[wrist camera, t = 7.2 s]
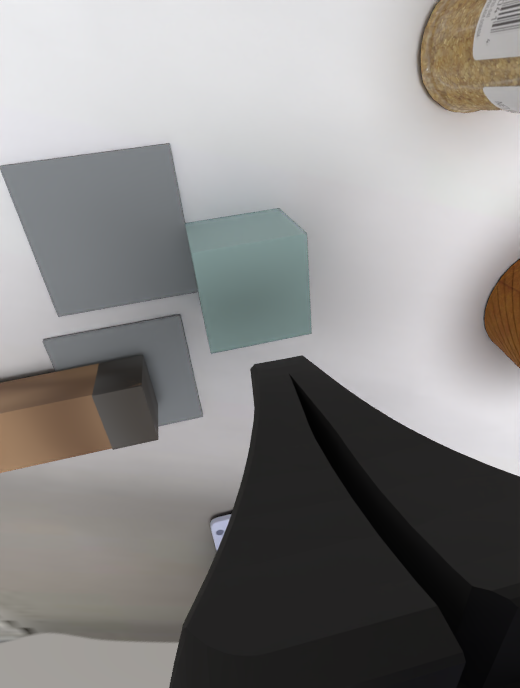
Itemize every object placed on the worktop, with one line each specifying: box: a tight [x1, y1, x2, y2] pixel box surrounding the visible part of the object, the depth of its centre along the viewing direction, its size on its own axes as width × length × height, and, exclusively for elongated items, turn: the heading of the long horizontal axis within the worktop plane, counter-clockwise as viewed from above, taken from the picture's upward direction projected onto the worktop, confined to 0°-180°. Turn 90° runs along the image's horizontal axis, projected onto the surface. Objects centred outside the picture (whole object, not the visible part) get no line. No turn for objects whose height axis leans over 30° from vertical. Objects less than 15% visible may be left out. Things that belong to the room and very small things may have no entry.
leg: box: [0, 355, 158, 473], centre depth 18 cm, size 12×3×4 cm, turn 96°
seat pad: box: [0, 143, 198, 317], centre depth 17 cm, size 6×6×1 cm
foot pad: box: [43, 314, 203, 426], centre depth 20 cm, size 6×6×1 cm
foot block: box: [185, 208, 312, 354], centre depth 17 cm, size 4×4×4 cm
